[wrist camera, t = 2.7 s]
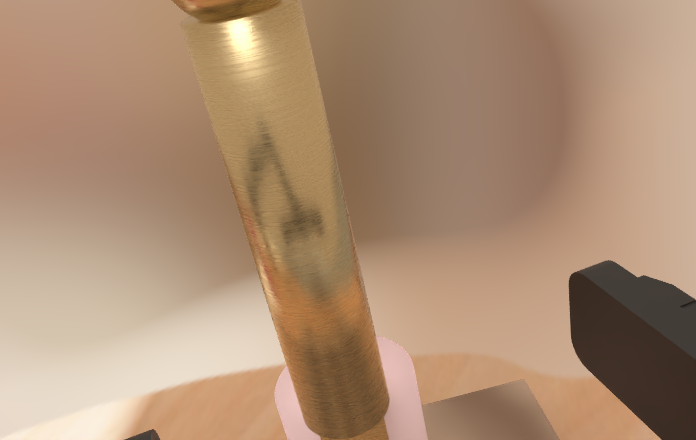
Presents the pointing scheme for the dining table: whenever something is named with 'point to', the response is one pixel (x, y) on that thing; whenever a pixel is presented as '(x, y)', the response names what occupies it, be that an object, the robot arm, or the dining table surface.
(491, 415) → the base
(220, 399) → the dining table surface
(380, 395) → the brass crank handle
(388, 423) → the cover
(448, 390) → the dining table surface
